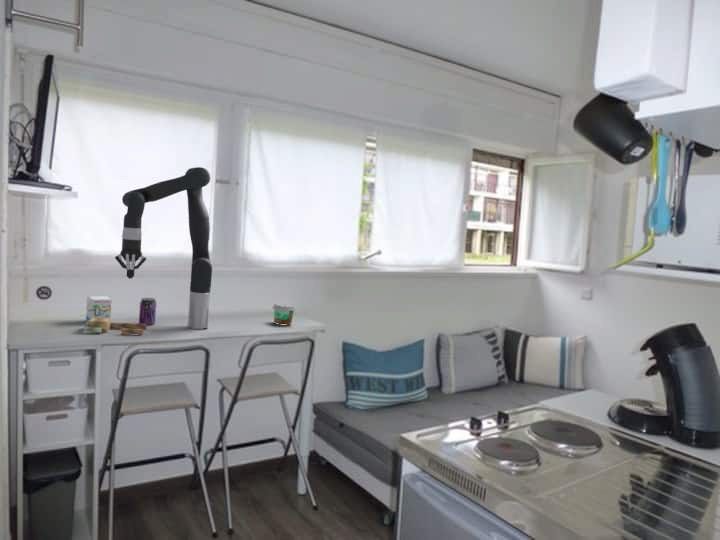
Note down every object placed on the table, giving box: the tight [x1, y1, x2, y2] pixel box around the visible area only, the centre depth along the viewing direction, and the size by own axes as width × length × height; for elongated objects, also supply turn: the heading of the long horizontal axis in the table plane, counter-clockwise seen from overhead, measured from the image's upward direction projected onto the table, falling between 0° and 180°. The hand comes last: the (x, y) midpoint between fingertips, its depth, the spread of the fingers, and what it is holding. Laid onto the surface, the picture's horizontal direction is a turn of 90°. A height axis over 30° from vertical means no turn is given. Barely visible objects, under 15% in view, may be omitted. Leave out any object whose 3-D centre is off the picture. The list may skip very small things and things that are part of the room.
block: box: [89, 317, 112, 333], centre depth 228 cm, size 7×7×5 cm
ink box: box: [85, 295, 113, 322], centre depth 242 cm, size 8×8×12 cm
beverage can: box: [138, 297, 157, 326], centre depth 248 cm, size 7×7×12 cm
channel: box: [83, 319, 148, 336], centre depth 229 cm, size 23×12×4 cm, turn 105°
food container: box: [272, 302, 296, 324], centre depth 276 cm, size 12×6×10 cm, turn 68°
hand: (130, 278), depth 228 cm, fingers closed
